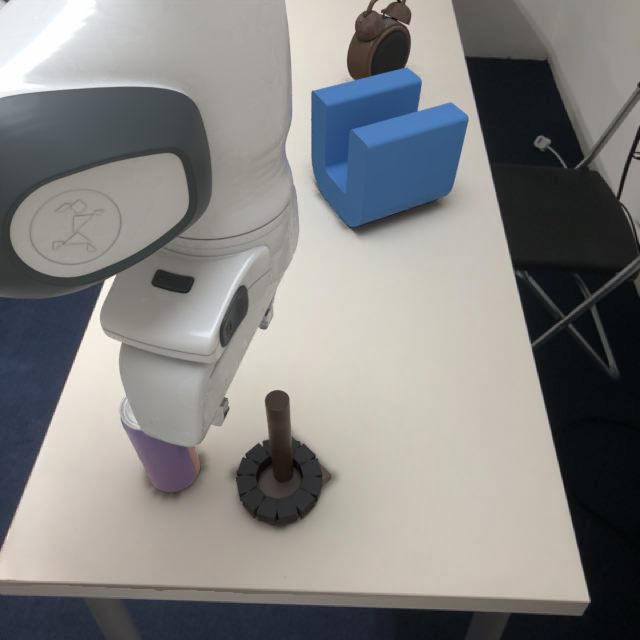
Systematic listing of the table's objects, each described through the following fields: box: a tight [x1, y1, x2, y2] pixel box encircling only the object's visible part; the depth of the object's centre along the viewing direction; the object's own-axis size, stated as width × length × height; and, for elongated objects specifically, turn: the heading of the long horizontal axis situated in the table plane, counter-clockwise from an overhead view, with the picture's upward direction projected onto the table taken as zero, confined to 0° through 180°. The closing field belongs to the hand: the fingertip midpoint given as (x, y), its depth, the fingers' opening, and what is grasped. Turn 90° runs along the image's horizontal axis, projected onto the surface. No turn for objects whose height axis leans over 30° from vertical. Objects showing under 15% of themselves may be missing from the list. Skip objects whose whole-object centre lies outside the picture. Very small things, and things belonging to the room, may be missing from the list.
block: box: [310, 67, 470, 228], centre depth 96 cm, size 18×18×18 cm
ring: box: [235, 439, 323, 526], centre depth 65 cm, size 10×10×2 cm
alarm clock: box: [346, 0, 413, 81], centre depth 120 cm, size 15×7×20 cm, turn 132°
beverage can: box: [119, 394, 201, 493], centre depth 62 cm, size 6×6×15 cm
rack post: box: [235, 389, 332, 522], centre depth 61 cm, size 8×8×17 cm
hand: (239, 366), depth 44 cm, fingers open, 8 cm apart
